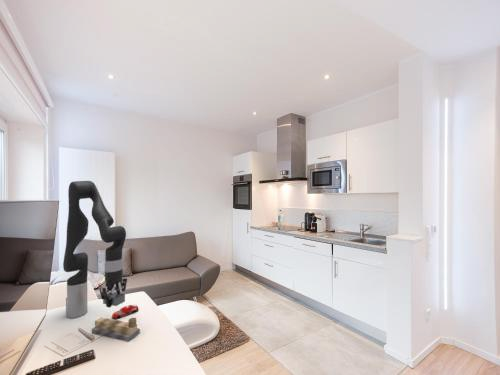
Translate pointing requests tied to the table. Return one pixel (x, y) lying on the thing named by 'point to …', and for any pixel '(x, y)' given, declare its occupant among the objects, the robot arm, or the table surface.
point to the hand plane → (116, 328)
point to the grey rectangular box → (116, 299)
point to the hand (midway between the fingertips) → (114, 304)
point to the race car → (125, 311)
